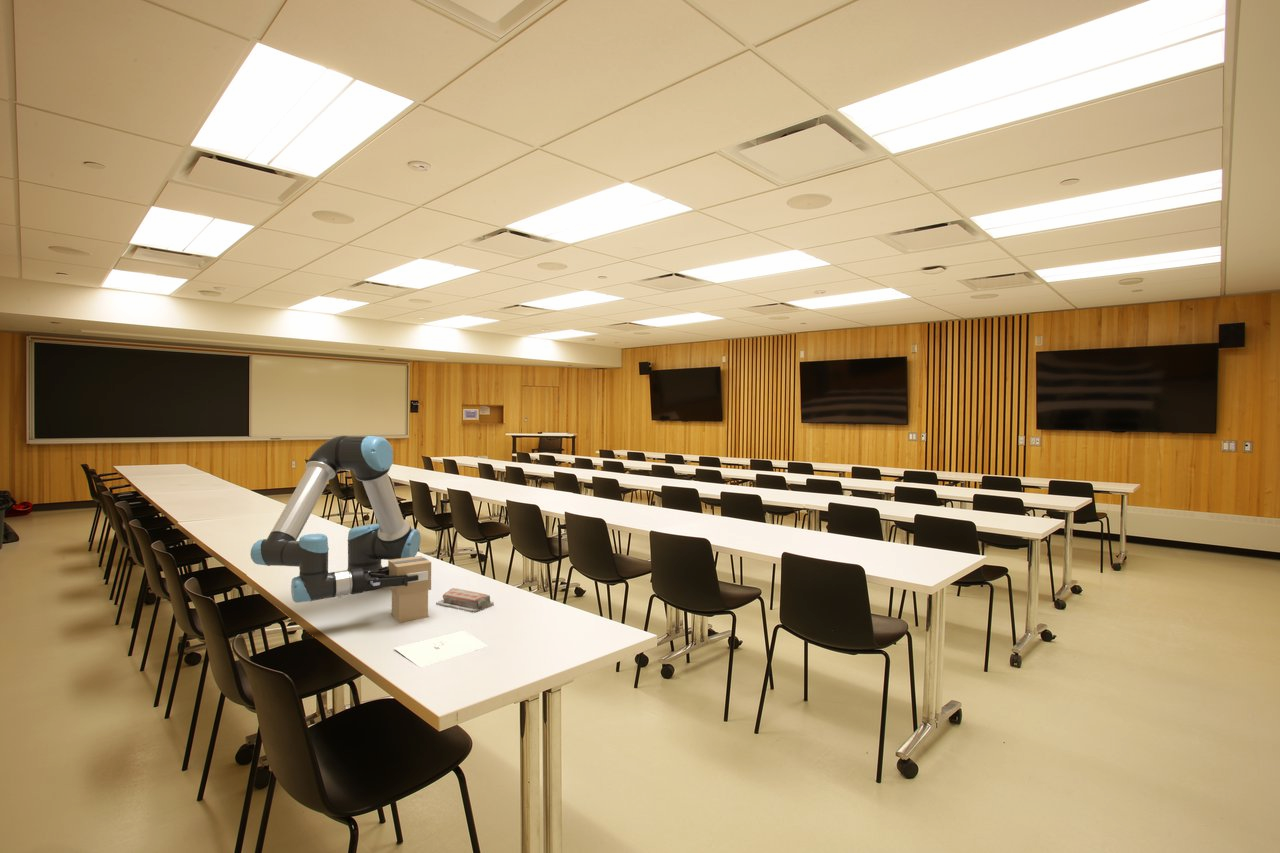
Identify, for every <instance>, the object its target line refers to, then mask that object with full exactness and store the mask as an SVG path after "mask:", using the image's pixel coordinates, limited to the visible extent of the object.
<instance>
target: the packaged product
mask: <svg viewBox="0 0 1280 853" xmlns="http://www.w3.org/2000/svg"><path fill="white" fill-rule="evenodd" d="M442 598H443V599H441V600H439V601H436V603H435V605H437V606H443V607H446V608H450V609H453V610H454V609H455V610H458V609H459V611H463V610H464V612H469V613H473V612H474V613H473V614H475V613H478V612H480V610H481V611H483V610H486V609H487V608H491V607H493V606H494V601H491V596H490V595H489V594H486V593H481V592H477V591H472V590H466V589H461V588H457V587H456V588H454V587H452V588H450V589H449V590H448V591H445V592H444V594H443V595H442ZM485 608H486V609H485Z"/></svg>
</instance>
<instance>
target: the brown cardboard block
mask: <svg viewBox="0 0 1280 853" xmlns="http://www.w3.org/2000/svg"><path fill="white" fill-rule="evenodd" d="M387 562H388V563H387V564H388V565H387V566H388V569H389V575H397V576H400V575H407V574H410V573H417V572H423V571H428V580H423V581H417V582H410V583H408V586H391V587H387V589H389V590H391V592H392V591H393V592H394V593H395V594H396V595H403V594H409V593H415V592H421V591H427V590H428V591H431V590H432V561H430V560H429V559H428V558H426V557H424V556H422V555H416V556H415V557H408V558H401V559H393V560H388V561H387ZM402 581H403V580H402Z"/></svg>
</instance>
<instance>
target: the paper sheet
mask: <svg viewBox="0 0 1280 853" xmlns="http://www.w3.org/2000/svg"><path fill="white" fill-rule="evenodd" d="M486 647H489V645H487V644H486V643H485V642H483V641H482V640H480V639H478V638H477V637H475V636H474V635H472V634H470V633H468V632H467V631H465V630H460V631H456V632H452V633H449V634H444V635H440V636H437V637H432V638H429V639H428V638H427V639H424V640H419V641H417V642H416V641H415V642H412V643H408V644H404V645H400V646H396V647H393V649H394V650H396V652H398V653H400V654H401V655H403V656H404V657H405V658H406V659H408V660H409V661H411V662H412V663H413V664H414V665H416V666H417V667H418V668H424V667H427V666H430V665H432V664H436V663H438V662H442V661H445V660H449V659H452V658H455V657H458V656H461V655H464V654H468V653H471V652H475V651H476V650H480V649H483V648H486Z"/></svg>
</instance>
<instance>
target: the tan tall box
mask: <svg viewBox="0 0 1280 853" xmlns="http://www.w3.org/2000/svg"><path fill="white" fill-rule="evenodd" d="M391 616H392V617H393V618H394V619H395V620H396V621H397V622H398V623H405V622H409V621H414V620H419V619H424V618H428V617H429V590H427V591H421V592H415V593H409V594H403V595H396V594H395V593H394V592H393V591H392V590H391Z"/></svg>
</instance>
